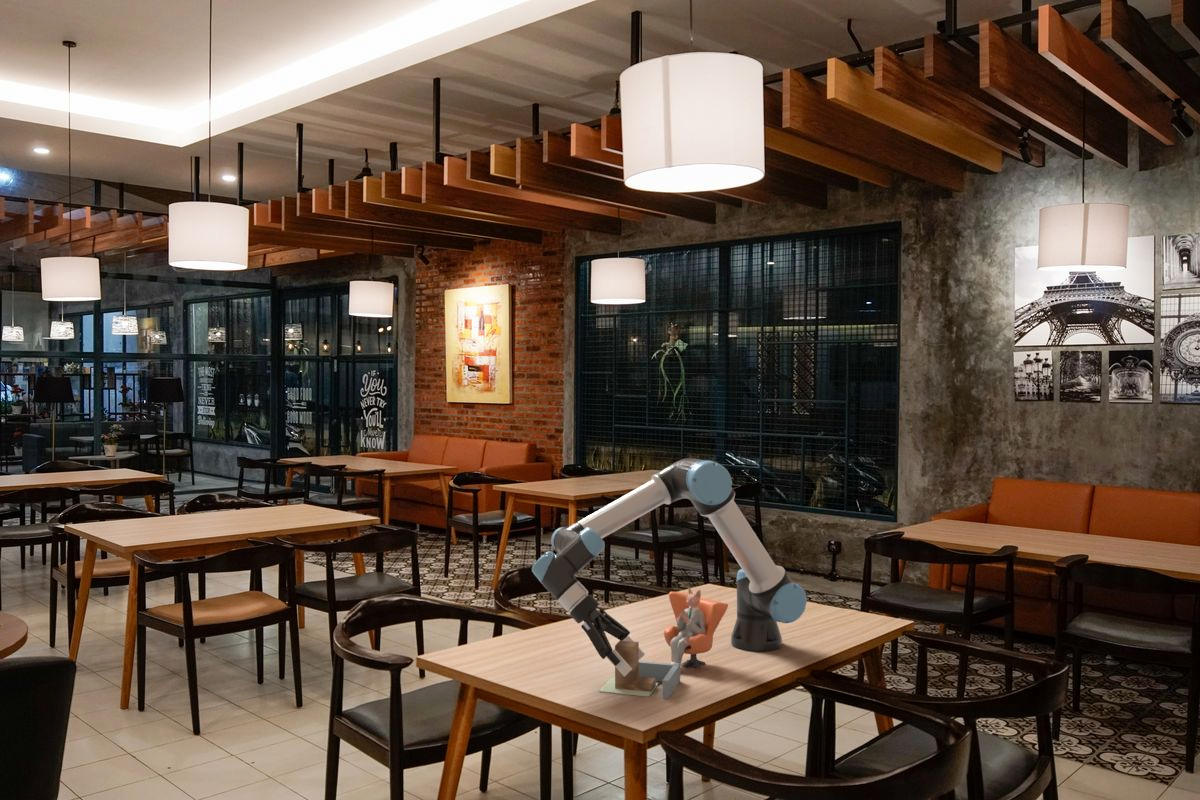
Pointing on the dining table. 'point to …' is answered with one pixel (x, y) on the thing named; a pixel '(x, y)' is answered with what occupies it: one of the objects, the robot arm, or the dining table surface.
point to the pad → (610, 688)
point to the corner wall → (662, 675)
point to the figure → (692, 626)
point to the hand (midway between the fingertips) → (635, 665)
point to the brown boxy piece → (632, 679)
